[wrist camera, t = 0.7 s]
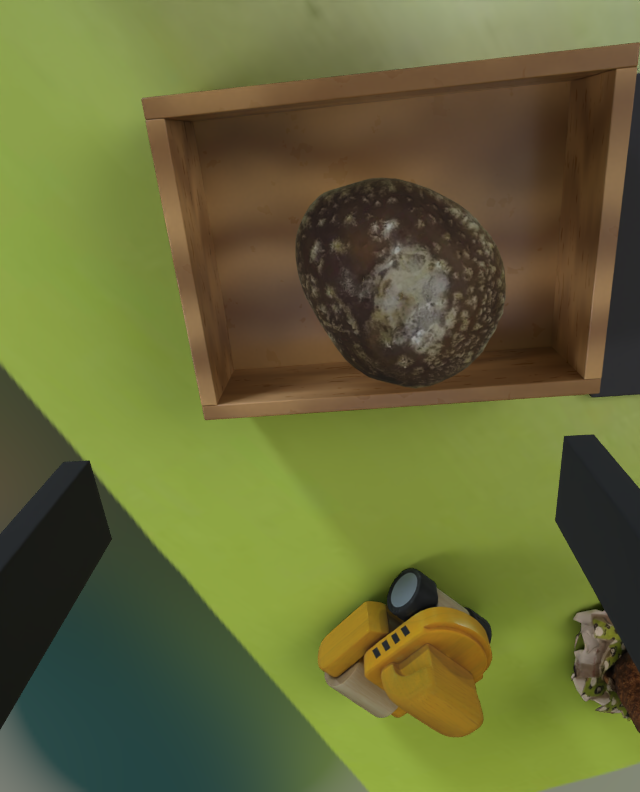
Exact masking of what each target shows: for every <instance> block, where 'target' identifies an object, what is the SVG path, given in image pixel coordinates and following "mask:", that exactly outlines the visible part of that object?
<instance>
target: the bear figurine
mask: <svg viewBox="0 0 640 792" xmlns="http://www.w3.org/2000/svg"><path fill="white" fill-rule="evenodd" d="M573 619H574V620H576V621H578V622H580V623H581V631H580V632H579V634H580V633H582V636H583V640H584V644H585V648H584V650H577V651H574V654H575V657H576V659H575V663H574V673H573V674H572V676H571V678H572V680H573V681H574V684H575V687H576V689H577V690H578V692H579V693H580V695H581V697H582V698H583V700H584V701H588V700H594V701H596V702H597V703H599V704H600V705H602V707H599V708H597V709H596V711H599V712H604V713H605V712H607V713H612V714H613V713H620V712H621V713H622V715H623V718H627V719H628V721H630V720H632V721H633V723H634V724H635V727H636V729H637V730H638V732H639V733H640V673H639V671H638V669H637V668H636V666H635V664H634V662H633V660H632V659H631V657H630V655H629V653H628V651H627V649H626V648H625V646H624V644H623V642H622V640H621V639H620V637H619V635H618V633H617V631H616V630H615V628H614V626H613V624H612V622H611V621H610V619H609V617H608V615H607V613H606V612H605V610H604V611H603V612H602V611H599V610H596V609H594V610H589V611H584V612H579V613H577V614H576V615H575V617H574V618H573ZM579 634H578V635H576V641H575V647H576V644H577V640H578V637H579ZM574 650H575V648H574ZM572 680H571V681H572Z"/></svg>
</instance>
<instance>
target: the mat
mask: <svg viewBox="0 0 640 792" xmlns="http://www.w3.org/2000/svg"><path fill="white" fill-rule="evenodd" d="M636 394H640V73H638V74H637V76H636V84H635V93H634V101H633V110H632V119H631V127H630V136H629V144H628V153H627V162H626V170H625V179H624V187H623V196H622V205H621V213H620V222H619V231H618V239H617V248H616V256H615V265H614V274H613V282H612V291H611V299H610V308H609V317H608V325H607V334H606V342H605V351H604V360H603V368H602V377H601V384H600V393H598V394H589V395H590V396H591V397H606V396H621V395H636Z"/></svg>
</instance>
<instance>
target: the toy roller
mask: <svg viewBox="0 0 640 792" xmlns="http://www.w3.org/2000/svg"><path fill="white" fill-rule="evenodd" d="M491 636H492V634H491V627H490V624H489V623H488V622H487V621H486V620H485V619H484V618H482V617H481V616H479V615H478V614H477V613H475V612H474V611H472V610H471V609H469V608H467V607H463V606H461V605H460V604H459V603H457V602H456V601H454V600H453V599H452V598H450V597H449V596H447V595H446V594H445V593H443V592H442V591H441V590H439V589H438V588H437V586H436V583H435V582H434V581H432V580H431V579H429V578H428V577H427V576H425V575H424V574H423V573H422V572H420V571H418V570H417V569H414V568H410V569H406V570H405V571H402V573H401V574H400V575H399V576H398V577H397V578H396V579H395V581H394V582H393V583H392V585H391V587H390V590H389V593H388V596H387V605H385V604H384V603H381V602H374V601H366V602H364V603H363V604H362V605H361V606H360V607H358V608H357V609H356V610H355V611H354V612H353V613H351V614H350V615H349V616H348V617H347V618H346V619H345V620H343V621H342V622H341V623H340V624H339V625H338V626H337V627H336V628H335V629H333V630H332V631H331V632H330V633H329V634H328V635H327V636H326V637H325V638H324V639H323V641H322V642H321V645H320V647H319V651H318V665H319V668H320V669H321V670H323V671H324V672H325V680H326V682H327V684H328V685H329V686H330V687H332V688H333V689H335V690H336V691H338V692H339V693H341V694H342V695H344V696H345V697H347V698H348V699H350V700H351V701H353V702H354V703H356V704H357V705H359V706H360V707H362V708H364V709H365V710H367V711H368V712H370V713H371V714H373V715H374V716H376V717H379V718H384V717H387V716H389V715H390V714H391V715H393V716H394V717H397V718H399V717H401V716H403V715H405V714H406V713H409V714H410V715H412V716H413V717H415V718H416V719H418V720H419V721H421V722H422V723H424V724H426V725H427V726H429V727H430V728H432V729H433V730H435V731H437V732H439V733H441V734H443V735H445V736H449V737H463V736H466V735H468V734H470V733H472V732H473V731H475V730H477V729H478V728H479V727H480V726H481V725H482V723H483V713H482V709H481V705H480V701H479V699H478V696H477V692H476V687H475V683H476V682H478V681H479V680H481V679H482V678H483V673H484V672H485V671H486V670H487V668H488V667H489V665H490V663H491V661H492V651H491V647H490V641H491Z"/></svg>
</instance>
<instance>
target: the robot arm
mask: <svg viewBox="0 0 640 792" xmlns="http://www.w3.org/2000/svg"><path fill="white" fill-rule="evenodd" d="M555 521H556V523H557V525H558V527H559V528H560V530H561V532H562V534H563V536H564V538H565V539H566V541H567V543H568V545H569V547H570V548H571V550H572V552H573V554H574V556H575V557H576V559H577V561H578V563H579V565H580V566H581V568H582V570H583V572H584V574H585V575H586V577H587V579H588V581H589V583H590V584H591V586H592V588H593V590H594V592H595V593H596V595H597V597H598V599H599V601H600V603H601V604H602V606H603V608H604V610H605V612H606V613H607V615H608V617H609V619H610V621H611V622H612V624H613V626H614V628H615V630H616V631H617V633H618V635H619V637H620V639H621V640H622V642H623V644H624V646H625V648H626V649H627V651H628V653H629V655H630V657H631V659H632V660H633V662H634V664H635V666H636V668H637V669H638V671H639V673H640V489H639V488H638V486H637V485H636V484H635V483H634V482H633V480H632V479H631V478H630V477H629V476H628V475H627V473H626V472H625V471H624V470H623V469H622V467H621V466H620V465H619V464H618V463H617V462H616V460H615V459H614V458H613V457H612V456H611V454H610V453H609V452H608V451H607V450H606V449H605V447H604V446H603V445H602V444H601V443H600V441H599V440H598V439H597V438H596V437H595V436H594V435H575V436H564V442H563V452H562V461H561V471H560V480H559V490H558V499H557V509H556V518H555ZM111 540H112V538H111V534H110V531H109V528H108V524H107V520H106V517H105V513H104V510H103V506H102V503H101V499H100V496H99V492H98V489H97V485H96V482H95V478H94V475H93V471H92V468H91V464H90V461H72V462H63V463H62V464H61V465H60V466H59V468H58V469H57V470H56V471H55V472H54V473H53V474H52V476H51V477H50V478H49V479H48V480H47V481H46V482H45V484H44V485H43V486H42V487H41V488H40V489H39V490H38V492H37V493H36V494H35V495H34V496H33V497H32V498H31V500H30V501H29V502H28V503H27V504H26V505H25V506H24V508H23V509H22V510H21V511H20V512H19V513H18V514H17V516H16V517H15V518H14V519H13V520H12V521H11V522H10V524H9V525H8V526H7V527H6V528H5V529H4V530H3V531H2V533H1V534H0V729H1V727H2V726H3V724H4V722H5V721H6V719H7V717H8V716H9V714H10V712H11V710H12V709H13V707H14V705H15V703H16V702H17V700H18V698H19V697H20V695H21V693H22V691H23V690H24V688H25V686H26V685H27V683H28V681H29V680H30V678H31V676H32V675H33V673H34V671H35V669H36V668H37V666H38V664H39V663H40V661H41V659H42V657H43V656H44V654H45V652H46V651H47V649H48V647H49V646H50V644H51V642H52V640H53V639H54V637H55V635H56V634H57V632H58V630H59V629H60V627H61V625H62V623H63V622H64V620H65V618H66V617H67V615H68V613H69V611H70V610H71V608H72V606H73V604H74V603H75V601H76V599H77V598H78V596H79V594H80V593H81V591H82V589H83V588H84V586H85V584H86V582H87V581H88V579H89V577H90V576H91V574H92V572H93V570H94V569H95V567H96V565H97V564H98V562H99V560H100V559H101V557H102V555H103V553H104V552H105V550H106V548H107V547H108V545H109V543H110V541H111Z"/></svg>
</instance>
